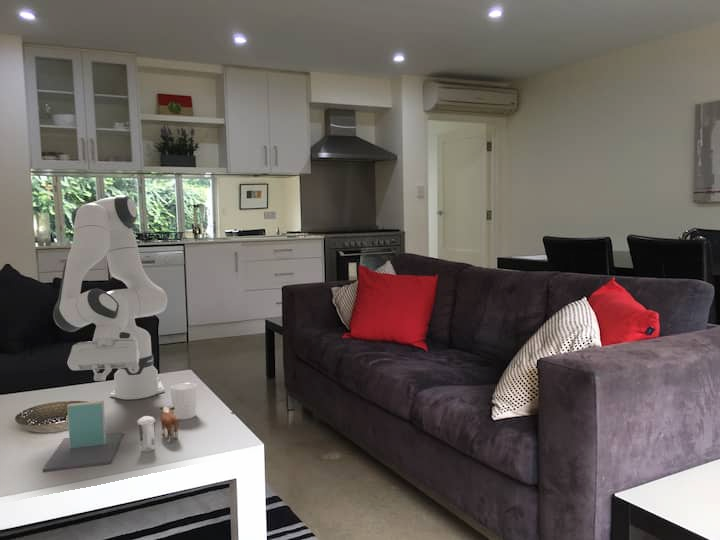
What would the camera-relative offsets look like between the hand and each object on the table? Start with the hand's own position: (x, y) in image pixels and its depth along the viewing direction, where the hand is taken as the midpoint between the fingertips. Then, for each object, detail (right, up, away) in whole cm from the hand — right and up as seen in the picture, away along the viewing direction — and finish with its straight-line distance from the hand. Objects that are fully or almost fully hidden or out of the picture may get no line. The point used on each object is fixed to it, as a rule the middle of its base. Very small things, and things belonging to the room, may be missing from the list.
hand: (99, 379), depth 172 cm
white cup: (+21, -15, +14) cm, 29 cm away
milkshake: (+19, -17, -14) cm, 29 cm away
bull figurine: (+22, -16, -4) cm, 28 cm away
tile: (+2, -16, -11) cm, 20 cm away
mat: (+3, -17, -14) cm, 22 cm away
